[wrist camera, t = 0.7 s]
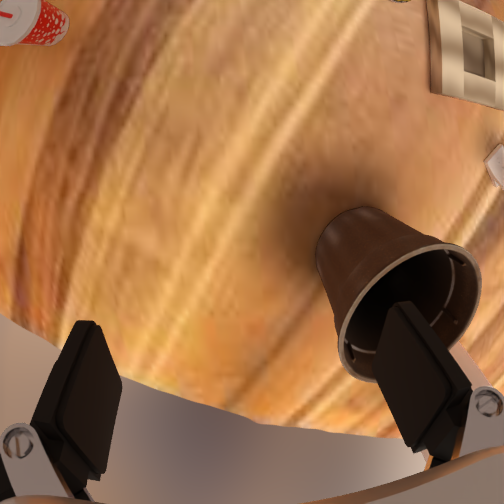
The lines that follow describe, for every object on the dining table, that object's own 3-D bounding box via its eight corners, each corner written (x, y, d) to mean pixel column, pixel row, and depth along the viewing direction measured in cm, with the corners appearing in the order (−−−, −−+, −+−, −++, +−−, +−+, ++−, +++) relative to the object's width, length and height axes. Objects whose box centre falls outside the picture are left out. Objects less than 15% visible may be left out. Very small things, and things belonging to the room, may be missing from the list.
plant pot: (333, 167, 36) (403, 217, 22) (428, 214, 40) (504, 272, 25) (279, 283, 42) (307, 375, 28) (374, 309, 46) (422, 387, 32)
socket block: (425, -5, 26) (436, -9, 23) (496, 24, 27) (507, 24, 24) (430, 92, 32) (442, 93, 30) (499, 109, 33) (510, 112, 31)
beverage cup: (80, 2, 24) (17, -31, 11) (69, 50, 26) (-1, 36, 14) (37, 9, 23) (-32, -13, 10) (28, 54, 25) (-47, 49, 13)
